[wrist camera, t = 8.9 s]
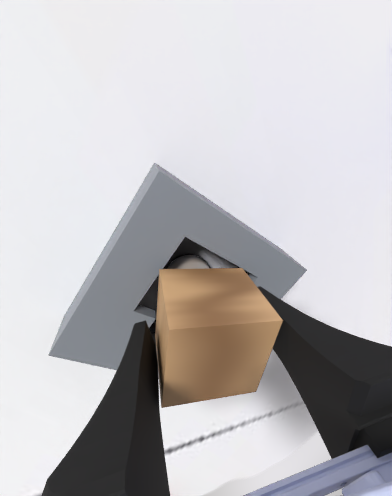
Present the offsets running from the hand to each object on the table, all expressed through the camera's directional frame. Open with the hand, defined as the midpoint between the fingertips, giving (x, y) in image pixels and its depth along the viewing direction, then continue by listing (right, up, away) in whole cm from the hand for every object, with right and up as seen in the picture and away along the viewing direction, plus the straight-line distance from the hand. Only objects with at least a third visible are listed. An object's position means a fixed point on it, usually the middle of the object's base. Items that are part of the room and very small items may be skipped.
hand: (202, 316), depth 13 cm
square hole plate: (-2, +1, +5) cm, 5 cm away
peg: (-1, +2, +4) cm, 4 cm away
